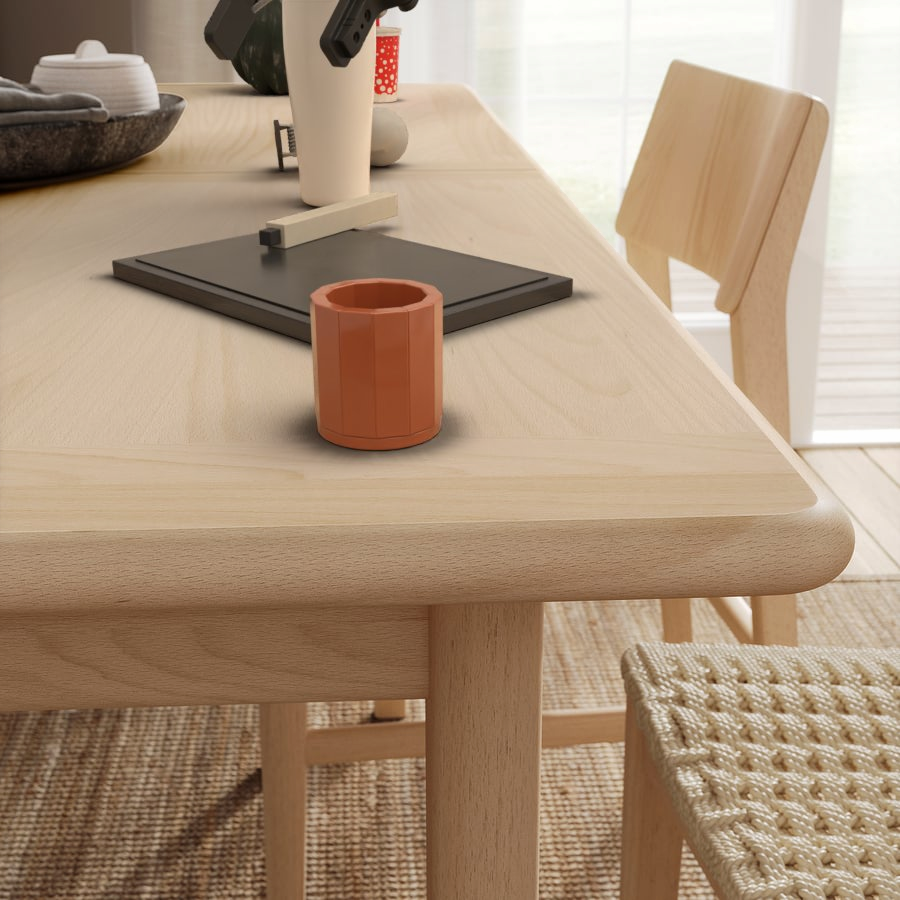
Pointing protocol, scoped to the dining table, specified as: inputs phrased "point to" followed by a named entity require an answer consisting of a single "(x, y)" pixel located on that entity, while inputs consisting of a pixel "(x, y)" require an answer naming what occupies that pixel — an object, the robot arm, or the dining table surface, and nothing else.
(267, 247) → the tablet
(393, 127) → the clip-on lamp
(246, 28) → the robot arm
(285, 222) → the stylus
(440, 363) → the pen pot
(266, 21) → the squash
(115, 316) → the dining table surface
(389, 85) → the beverage cup
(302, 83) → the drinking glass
